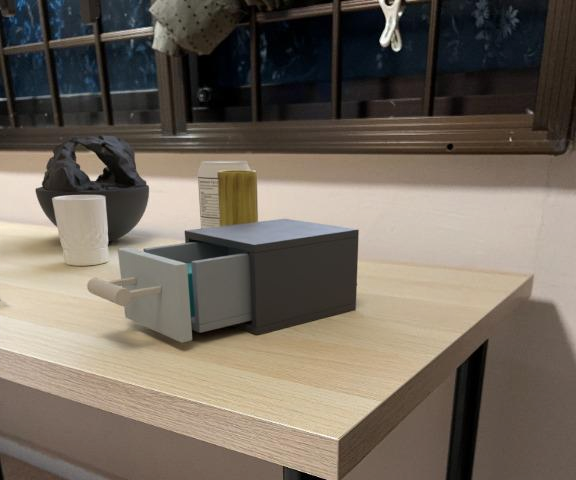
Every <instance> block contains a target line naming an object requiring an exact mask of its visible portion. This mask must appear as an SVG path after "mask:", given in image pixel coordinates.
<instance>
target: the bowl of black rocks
mask: <svg viewBox="0 0 576 480" xmlns="http://www.w3.org/2000/svg"><path fill="white" fill-rule="evenodd" d="M78 145H81V146H83V147H84V148H86V149H87V150H90V151H91V152H93V153H94V154H95V155H96V156H97V158H98V160H100V161H101V162H102V164H103V165H105V167H104V168H103V169H102V173H100V174H99V175H98V176H97V178H96V180H91V179H90V176H89V175H88V174H87V173H86V172H85V171H84V170H83V169H81V165H80V164H79V163H77V155H76V151H77V146H78ZM103 149H104V150H103ZM52 153H53V156H51V157H49V159H48V161H47V163H46V167H45V169H46V171H44V176H43V180H42V182H41V186H40V187H35V189H34V190H35V195H36V198H37V201H38V203H39V207H40V208H41V210H42V212H43V213H44V214H45V216H46V218H48V220H49V221H50V222H51V223H52V224H53V225H54V226H55V227H56V228H57V223H56V217H55V212H54V207H53V202H52V198H54V197H59V196H69V195H102V196H105V197H106V211H107V224H108V242H111V241H115V240H118V239H120V238H122V237H124V236H126V235H128V233H130V232H131V231H132V230H133V229H134V228H135V227H136V226H137V225H138V224H139V222H141V220H142V218H143V216H144V214H145V212H146V209H147V207H148V203H149V199H150V198H149V197H150V186H149V184H147V180H145V179H143V178H142V177H141V175H140V174H139V172H138V171H137V165H136V164H137V163H136V157H135V156H136V154H135V149H134V148H133V147H132V146H131V145H129V143H128V142H126V141H125V140H124V139H123V138H121V137H116V136H113V135H105V134H99V135H98V137H95V136H93V135H87V136H86V138H85V139H84V138H82V137H81V136H79V135H72V136H70V137H68V138H67V139H66V140H64V141H63V142H61V143H59V144H57V145H55V147H53V149H52Z"/></svg>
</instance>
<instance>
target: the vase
mask: <svg viewBox="0 0 576 480" xmlns="http://www.w3.org/2000/svg"><path fill="white" fill-rule="evenodd" d="M217 174H218V196H219V224H220V226H228V225H236V224H244V223H253V222H259V209H258V206H259V205H258V204H259V203H258V175H257V170H256V169H255V170H254V169H250V170H223V171H218V173H217Z"/></svg>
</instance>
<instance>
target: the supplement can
mask: <svg viewBox="0 0 576 480" xmlns="http://www.w3.org/2000/svg"><path fill="white" fill-rule="evenodd" d="M223 170H251V168H250V166H249V164H248V161H246V160H205V161H201V162H200V166H199V169H198V171H197V186H198V202H199V203H198V204H199V221H200V229H202V228H211V227H219V226H220V224H219V196H218V174H217V173H218V171H223Z"/></svg>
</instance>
